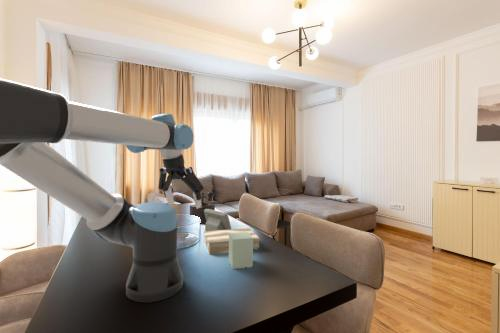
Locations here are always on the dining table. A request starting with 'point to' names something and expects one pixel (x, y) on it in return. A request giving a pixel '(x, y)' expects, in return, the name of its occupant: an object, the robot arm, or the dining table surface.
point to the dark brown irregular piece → (202, 207)
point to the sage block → (240, 250)
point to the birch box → (225, 240)
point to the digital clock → (216, 220)
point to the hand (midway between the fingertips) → (184, 205)
